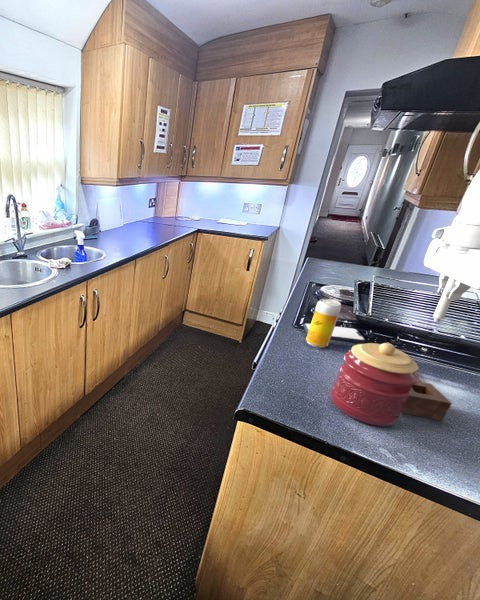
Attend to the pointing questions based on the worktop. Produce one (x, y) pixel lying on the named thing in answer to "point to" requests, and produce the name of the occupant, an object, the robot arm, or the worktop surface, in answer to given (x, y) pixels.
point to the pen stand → (426, 402)
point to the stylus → (444, 301)
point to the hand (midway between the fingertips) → (447, 296)
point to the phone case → (343, 334)
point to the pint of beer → (323, 322)
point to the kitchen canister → (374, 383)
